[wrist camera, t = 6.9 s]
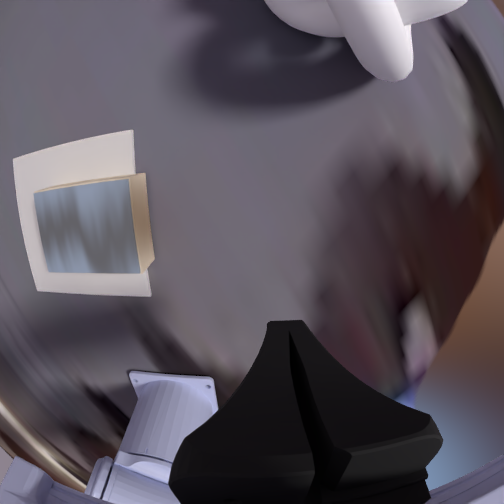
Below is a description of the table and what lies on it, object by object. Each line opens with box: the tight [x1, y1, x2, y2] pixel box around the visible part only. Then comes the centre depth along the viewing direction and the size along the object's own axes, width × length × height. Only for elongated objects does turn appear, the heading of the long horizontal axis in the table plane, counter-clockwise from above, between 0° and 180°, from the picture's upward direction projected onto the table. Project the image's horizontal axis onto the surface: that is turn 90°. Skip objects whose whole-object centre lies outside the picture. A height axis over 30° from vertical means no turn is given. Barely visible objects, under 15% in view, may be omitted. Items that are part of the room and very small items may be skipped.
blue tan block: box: [33, 173, 155, 274], centre depth 17 cm, size 6×3×8 cm
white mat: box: [13, 130, 152, 297], centre depth 19 cm, size 12×12×1 cm
